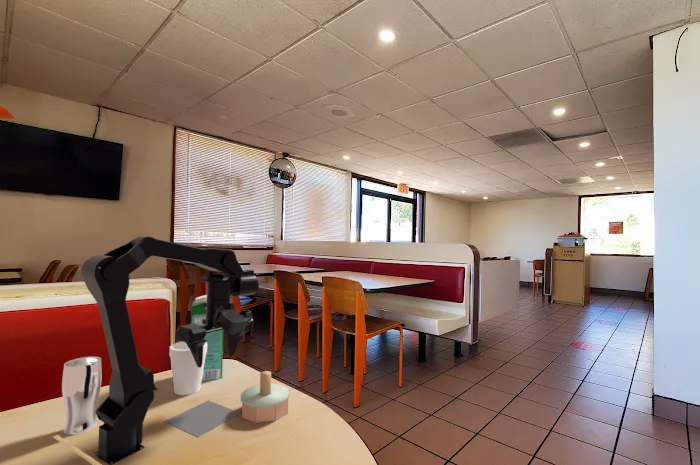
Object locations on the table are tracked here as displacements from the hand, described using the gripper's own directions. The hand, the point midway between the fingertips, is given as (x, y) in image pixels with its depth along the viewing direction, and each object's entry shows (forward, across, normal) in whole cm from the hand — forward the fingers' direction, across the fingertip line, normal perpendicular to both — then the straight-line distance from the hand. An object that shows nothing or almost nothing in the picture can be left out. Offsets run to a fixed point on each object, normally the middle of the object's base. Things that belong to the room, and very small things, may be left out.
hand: (216, 361), depth 86 cm
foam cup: (+12, +3, +15) cm, 19 cm away
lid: (+8, +6, -11) cm, 15 cm away
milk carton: (+12, +12, +20) cm, 27 cm away
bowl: (+12, +6, -11) cm, 18 cm away
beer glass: (+13, -22, +17) cm, 30 cm away
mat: (+12, -4, -1) cm, 13 cm away
